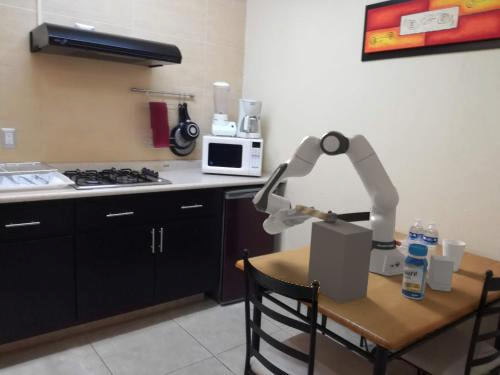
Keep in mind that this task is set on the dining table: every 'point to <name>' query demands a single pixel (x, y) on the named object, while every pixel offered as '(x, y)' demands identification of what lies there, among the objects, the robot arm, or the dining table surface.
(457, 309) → the dining table surface
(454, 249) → the foam cup
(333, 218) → the bar
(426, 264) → the beverage bottle
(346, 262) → the stand
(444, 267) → the supplement box
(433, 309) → the dining table surface
